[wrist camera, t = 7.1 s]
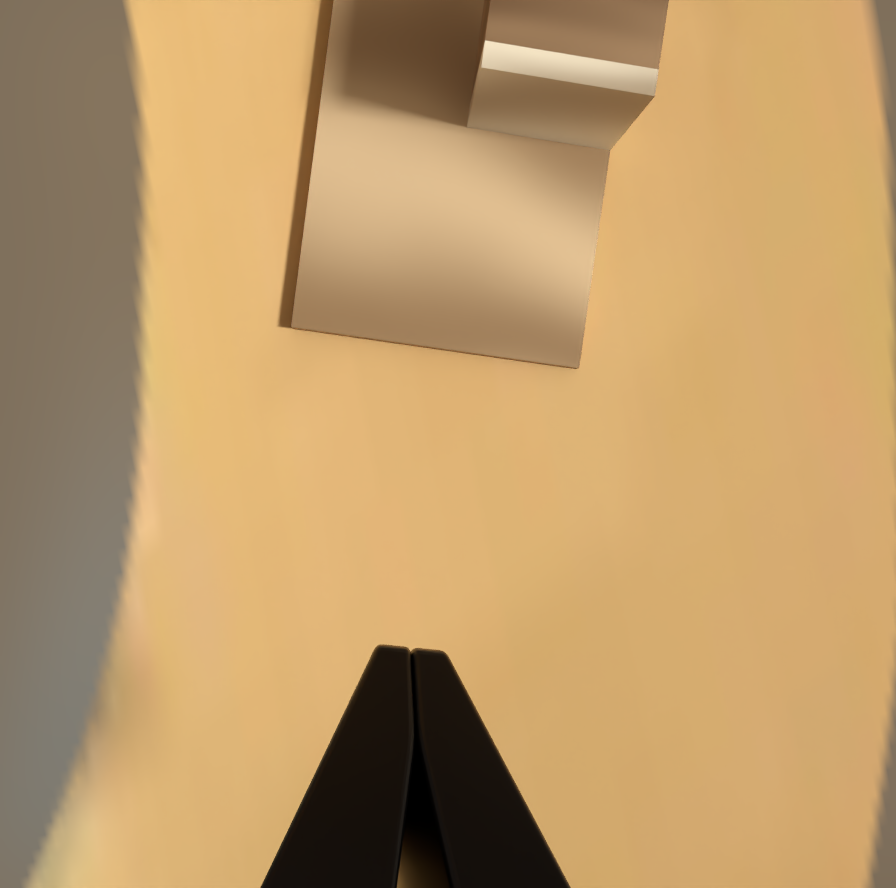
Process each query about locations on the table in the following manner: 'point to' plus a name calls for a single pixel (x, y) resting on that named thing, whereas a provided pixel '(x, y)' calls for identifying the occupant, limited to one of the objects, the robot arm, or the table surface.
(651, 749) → the table surface
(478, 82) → the walnut block
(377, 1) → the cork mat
